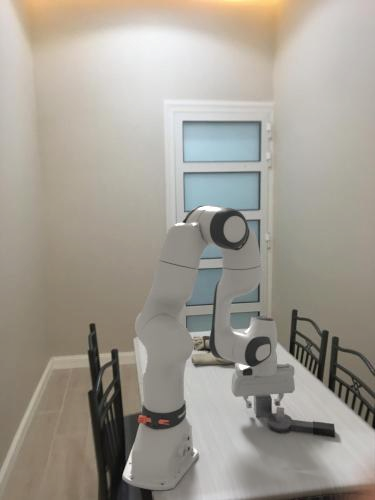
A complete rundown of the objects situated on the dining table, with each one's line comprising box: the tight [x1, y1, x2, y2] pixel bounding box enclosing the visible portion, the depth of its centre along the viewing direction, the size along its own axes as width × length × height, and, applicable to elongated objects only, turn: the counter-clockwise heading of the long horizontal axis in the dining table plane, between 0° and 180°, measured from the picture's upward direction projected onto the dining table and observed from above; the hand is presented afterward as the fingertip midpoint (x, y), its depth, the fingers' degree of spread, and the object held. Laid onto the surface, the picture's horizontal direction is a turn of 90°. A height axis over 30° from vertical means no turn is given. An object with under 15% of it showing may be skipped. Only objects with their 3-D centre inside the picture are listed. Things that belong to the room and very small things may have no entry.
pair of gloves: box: [190, 335, 236, 366], centre depth 183 cm, size 30×26×5 cm
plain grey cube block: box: [253, 394, 273, 418], centre depth 131 cm, size 5×5×6 cm
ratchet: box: [268, 406, 336, 438], centre depth 121 cm, size 7×19×6 cm, turn 74°
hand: (263, 406), depth 131 cm, fingers open, 8 cm apart
